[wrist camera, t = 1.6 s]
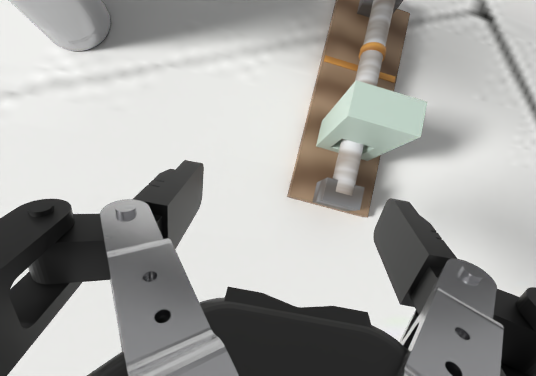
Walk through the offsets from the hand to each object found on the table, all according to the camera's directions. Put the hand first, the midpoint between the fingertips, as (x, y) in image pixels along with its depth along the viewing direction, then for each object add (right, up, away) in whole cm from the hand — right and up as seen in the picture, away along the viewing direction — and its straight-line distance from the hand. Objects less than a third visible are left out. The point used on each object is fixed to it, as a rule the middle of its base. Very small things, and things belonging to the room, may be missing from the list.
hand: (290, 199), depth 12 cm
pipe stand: (+12, +14, +31) cm, 36 cm away
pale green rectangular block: (+10, +7, +28) cm, 31 cm away
